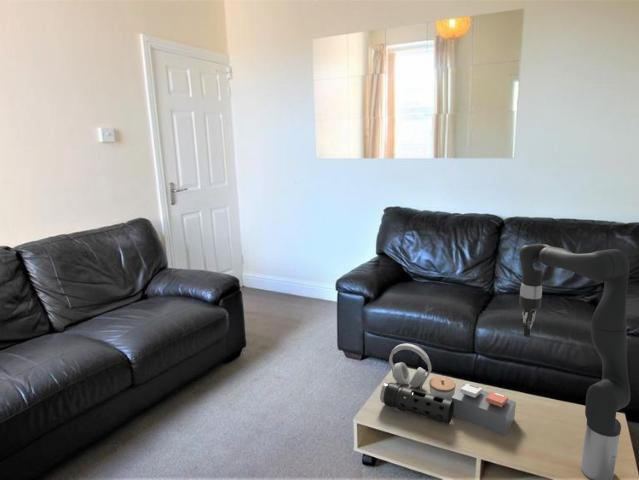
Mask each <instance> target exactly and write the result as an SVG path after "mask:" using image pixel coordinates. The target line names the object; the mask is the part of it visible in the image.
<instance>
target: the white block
mask: <svg viewBox="0 0 639 480" xmlns="http://www.w3.org/2000/svg"><path fill="white" fill-rule="evenodd" d="M482 390H483V388H482V387H480V386H477V385H473V384H472V383H465V386H464V387H462V388H461V390H460V393H463V394H466V395H469V396H472V397H474V398H475V397H477V396H478V395H479V394H480V393H482Z"/></svg>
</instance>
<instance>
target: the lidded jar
mask: <svg viewBox="0 0 639 480" xmlns="http://www.w3.org/2000/svg"><path fill="white" fill-rule="evenodd" d="M456 385H457V384H456V382H455V381H454V380H453V379H452V378H450V377H448V376H444V375H441V376H440V375H438V376H433V377H432V378H430V380H429V392H430V393H429V394H431V395H434V396H438V397H441V398H445V399H448V400H452V396H453V395H454V394H455V393H456Z"/></svg>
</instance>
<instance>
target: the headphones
mask: <svg viewBox="0 0 639 480" xmlns="http://www.w3.org/2000/svg"><path fill="white" fill-rule="evenodd" d="M402 350H408V351H412V352H414V353H416V354H417V355H419V357H420V358H421V359H422V360H423V361H424V362H425V363H426V365H427V369H428V371H427V374H426V369H424V368H422V367H420V366H419V367H418V368H417V370H416V371H415V373H414V374H413V376H412V378H411V380H410V371H409V369H408V366H407V364H406V363H405V362H401V361H400V362H397V363H395V364H394V362H393V357H394V355H395V354H397V353H398V352H399V351H402ZM388 363H389V367H390V369H391V372H392V377H393V379H394V380H395V382H396V384H399V385H400V386H401V385H407V384H409V386H411V387H412V388H413V389H415V388H419V390H421V389H422V387H423V386H424V385H425V382H426V381H427V379H428V378H429V376H430V374H431V372H432V363H431V360H430V357H429V355H428V354H427V353H426V351H424V349H422V348H421V347H420V346H418V345H415V344H412V343H407V342H406V343H401V344H398V345H396V346H395V347H394V348H392V350H391V352H390V354H389V359H388Z"/></svg>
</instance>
